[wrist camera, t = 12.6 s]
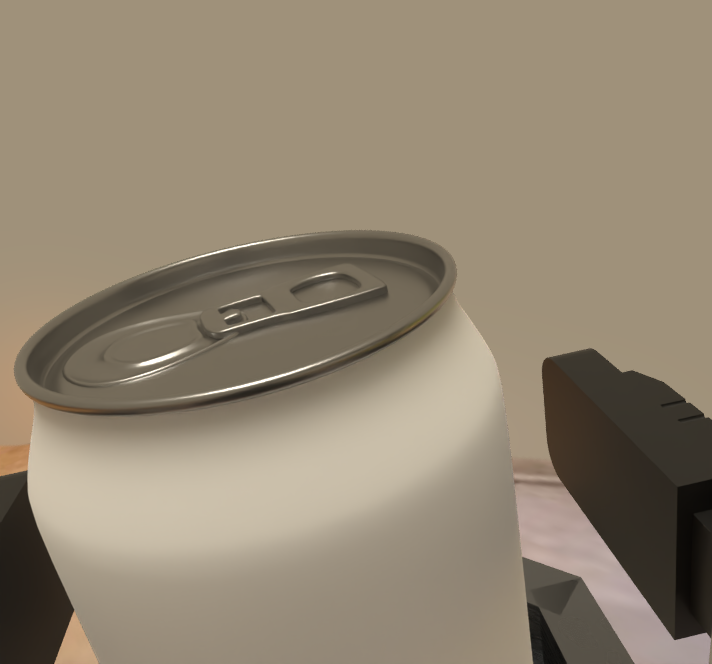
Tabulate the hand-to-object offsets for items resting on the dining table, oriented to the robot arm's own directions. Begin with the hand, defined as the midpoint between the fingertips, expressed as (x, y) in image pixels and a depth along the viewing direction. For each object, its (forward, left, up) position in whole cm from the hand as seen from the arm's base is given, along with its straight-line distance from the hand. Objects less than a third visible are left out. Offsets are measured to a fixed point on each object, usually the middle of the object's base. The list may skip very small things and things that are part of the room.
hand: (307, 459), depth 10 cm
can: (+1, 0, -9) cm, 9 cm away
